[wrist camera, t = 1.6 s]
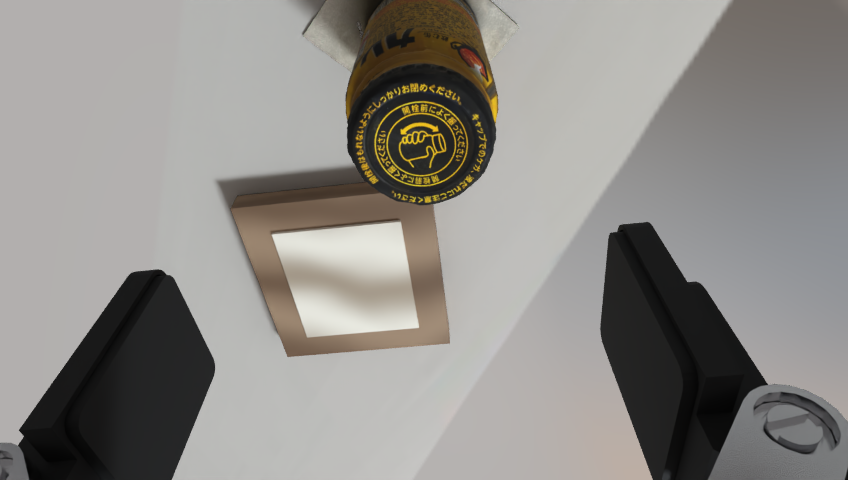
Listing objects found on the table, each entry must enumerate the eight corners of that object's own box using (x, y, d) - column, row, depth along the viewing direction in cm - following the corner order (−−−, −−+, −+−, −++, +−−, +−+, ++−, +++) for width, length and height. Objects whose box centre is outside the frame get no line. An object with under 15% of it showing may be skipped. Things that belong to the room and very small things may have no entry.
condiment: (430, 129, 31) (433, 256, 22) (303, 35, 28) (240, 133, 19) (519, 26, 28) (570, 120, 18) (386, -94, 25) (362, -57, 15)
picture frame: (237, 195, 34) (229, 210, 32) (429, 175, 33) (429, 189, 32) (291, 341, 41) (287, 358, 40) (449, 328, 41) (449, 345, 39)
